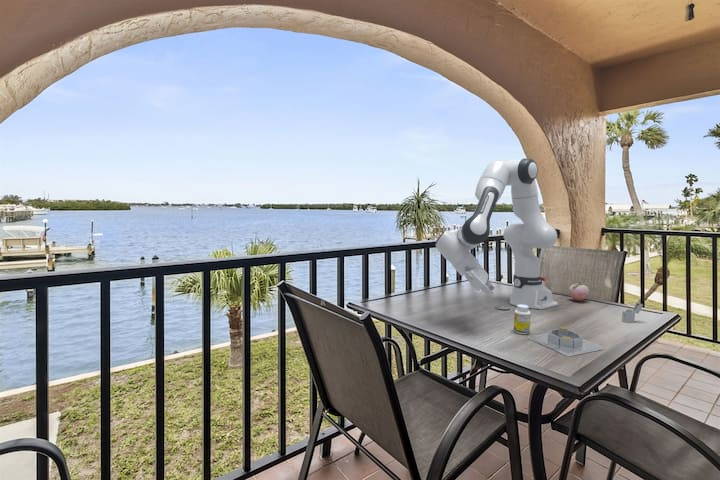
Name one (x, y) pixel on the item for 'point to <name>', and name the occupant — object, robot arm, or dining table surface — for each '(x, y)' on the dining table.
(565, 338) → the socket
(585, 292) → the decorative fruit
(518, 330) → the supplement bottle
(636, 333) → the dining table surface
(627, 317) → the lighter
